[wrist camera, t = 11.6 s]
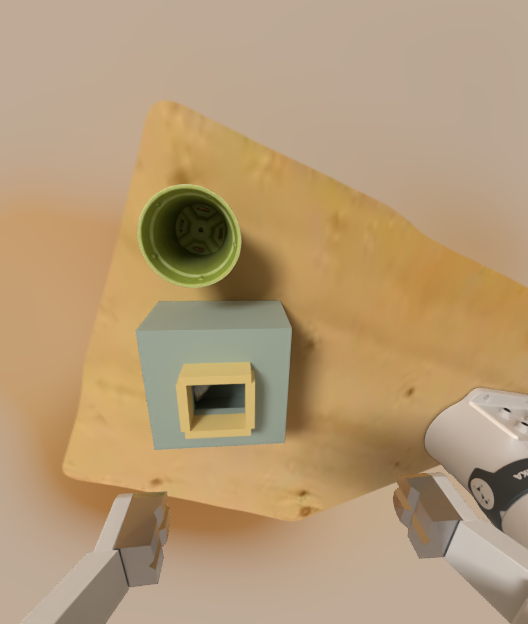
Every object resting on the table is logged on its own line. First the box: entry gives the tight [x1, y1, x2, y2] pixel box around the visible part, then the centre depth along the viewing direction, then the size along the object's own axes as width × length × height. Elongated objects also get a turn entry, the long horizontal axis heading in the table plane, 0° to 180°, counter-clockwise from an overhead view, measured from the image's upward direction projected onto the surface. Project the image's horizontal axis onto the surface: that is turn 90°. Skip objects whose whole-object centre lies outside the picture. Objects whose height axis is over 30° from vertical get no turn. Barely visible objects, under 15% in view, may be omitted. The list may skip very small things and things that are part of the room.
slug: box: [193, 384, 218, 405], centre depth 36 cm, size 4×4×6 cm
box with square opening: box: [136, 300, 292, 450], centre depth 35 cm, size 16×16×12 cm
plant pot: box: [138, 184, 242, 288], centre depth 30 cm, size 9×9×9 cm
